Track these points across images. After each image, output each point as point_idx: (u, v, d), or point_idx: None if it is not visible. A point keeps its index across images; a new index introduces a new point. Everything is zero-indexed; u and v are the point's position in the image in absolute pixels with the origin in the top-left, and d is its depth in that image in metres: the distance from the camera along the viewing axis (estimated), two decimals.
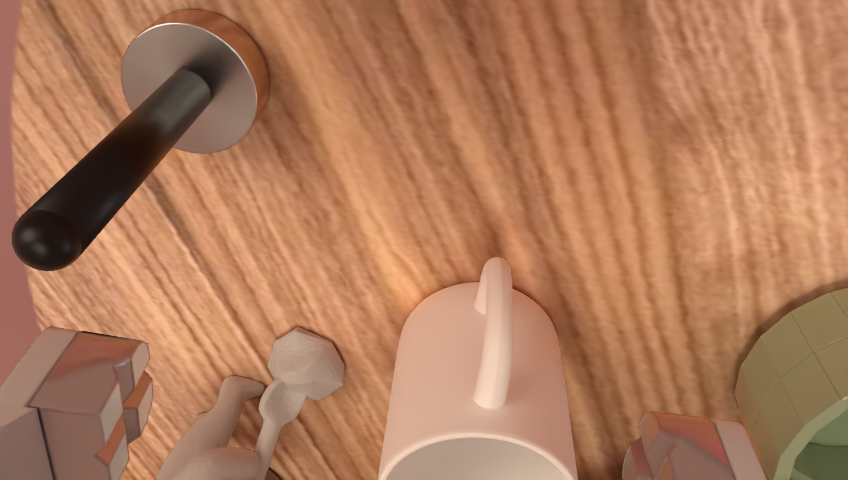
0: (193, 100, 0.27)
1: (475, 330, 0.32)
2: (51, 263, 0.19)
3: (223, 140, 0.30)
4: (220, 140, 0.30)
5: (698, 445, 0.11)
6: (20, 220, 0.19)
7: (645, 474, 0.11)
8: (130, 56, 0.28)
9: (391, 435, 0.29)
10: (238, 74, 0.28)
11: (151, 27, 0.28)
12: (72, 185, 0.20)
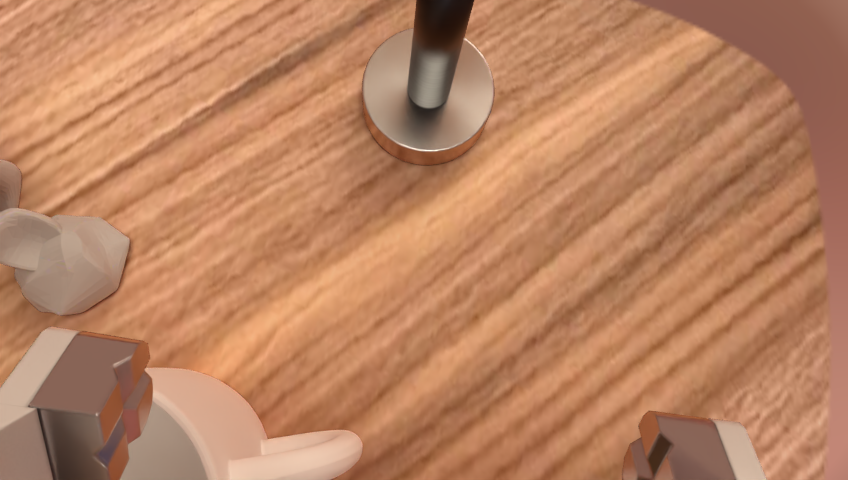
0: (445, 89, 0.28)
1: (253, 447, 0.25)
2: None
3: (387, 124, 0.30)
4: (386, 121, 0.30)
5: (698, 445, 0.11)
6: None
7: (645, 474, 0.11)
8: None
9: None
10: (461, 131, 0.30)
11: (479, 51, 0.31)
12: None
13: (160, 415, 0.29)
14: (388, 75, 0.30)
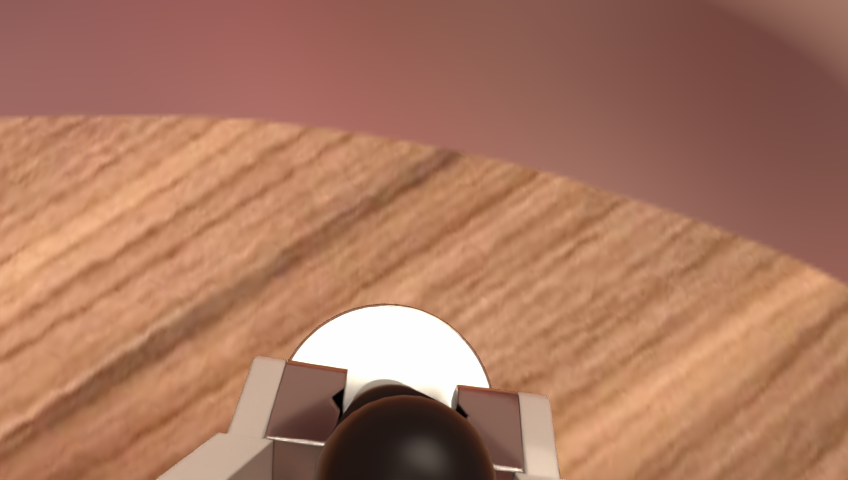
0: None
1: None
2: None
3: None
4: None
5: (493, 417, 0.11)
6: (468, 426, 0.07)
7: None
8: (416, 318, 0.18)
9: None
10: None
11: (470, 346, 0.18)
12: None
13: None
14: None
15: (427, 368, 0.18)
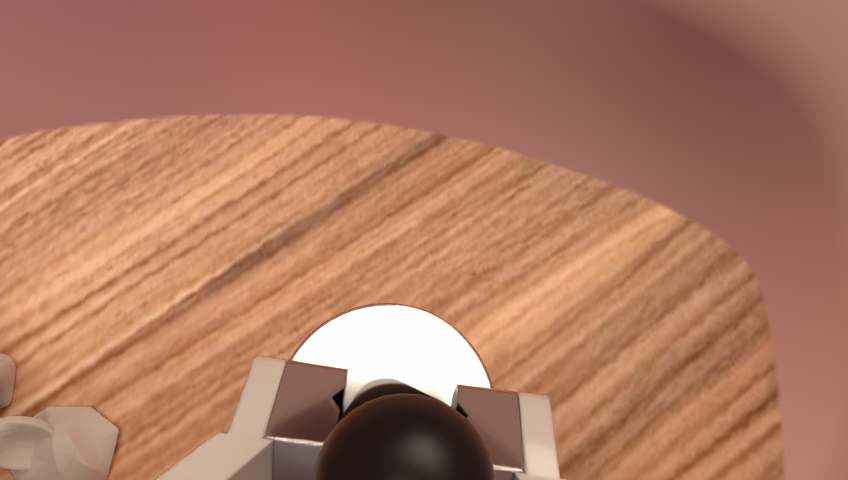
0: None
1: None
2: None
3: None
4: None
5: (493, 417, 0.11)
6: (466, 424, 0.07)
7: None
8: (417, 317, 0.18)
9: None
10: None
11: (471, 346, 0.18)
12: None
13: None
14: None
15: (428, 367, 0.18)
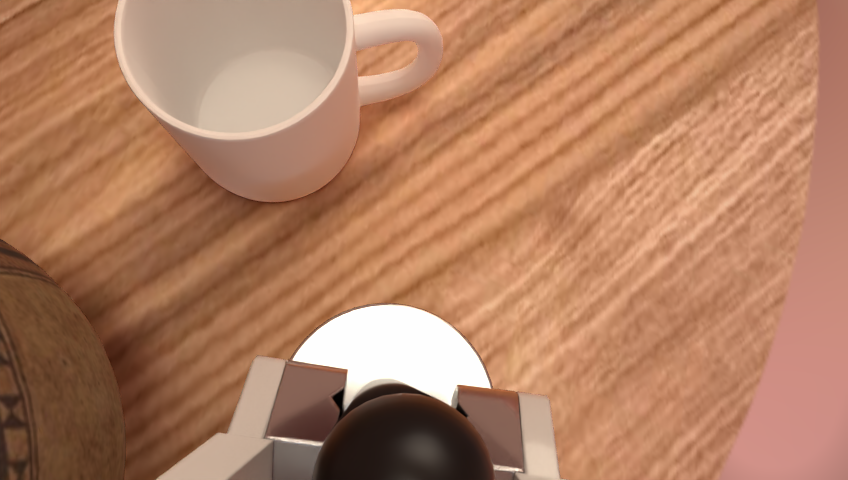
0: None
1: None
2: None
3: None
4: None
5: (493, 417, 0.11)
6: (467, 424, 0.07)
7: None
8: (417, 317, 0.18)
9: None
10: None
11: (471, 346, 0.18)
12: None
13: (266, 76, 0.35)
14: None
15: (428, 367, 0.18)
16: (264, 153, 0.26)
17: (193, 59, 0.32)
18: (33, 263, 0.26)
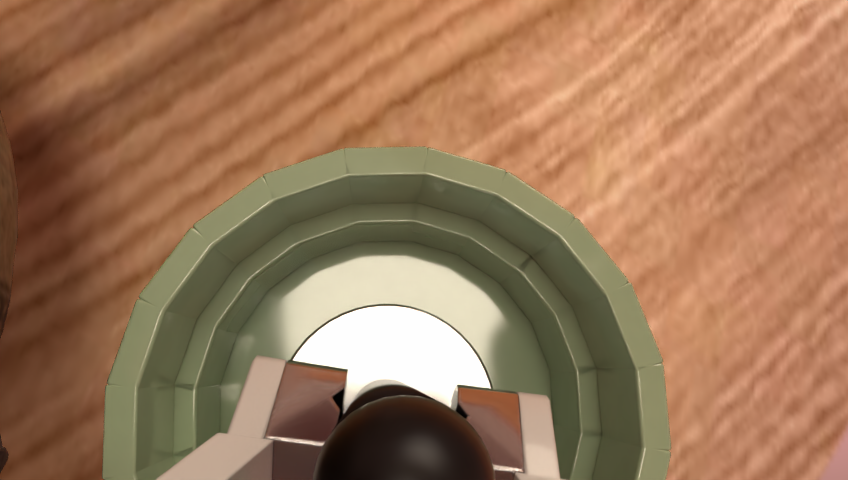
0: None
1: None
2: None
3: None
4: None
5: (493, 417, 0.11)
6: (467, 427, 0.07)
7: None
8: (417, 318, 0.18)
9: None
10: None
11: (471, 346, 0.18)
12: None
13: None
14: None
15: (428, 368, 0.18)
16: None
17: None
18: None
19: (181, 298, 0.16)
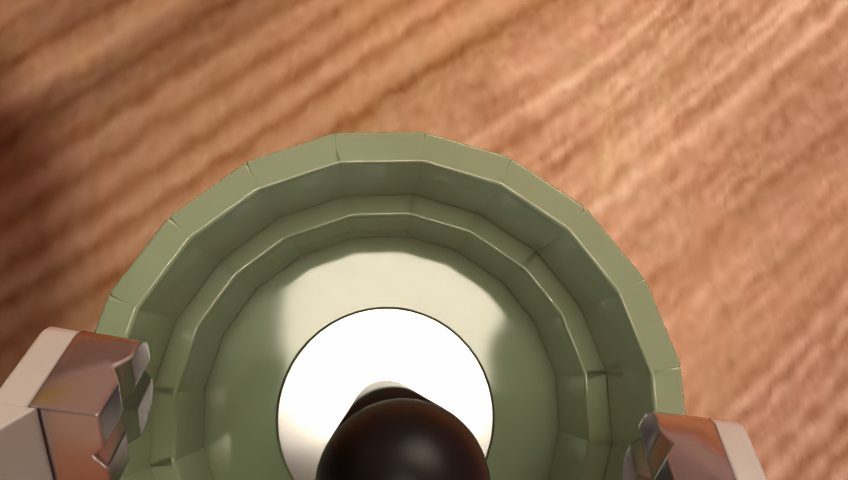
0: None
1: None
2: None
3: None
4: (314, 479, 0.18)
5: (698, 445, 0.11)
6: (463, 428, 0.07)
7: (645, 474, 0.11)
8: (417, 320, 0.19)
9: None
10: None
11: (470, 349, 0.19)
12: None
13: None
14: (318, 395, 0.18)
15: (428, 370, 0.18)
16: None
17: None
18: None
19: (157, 295, 0.15)
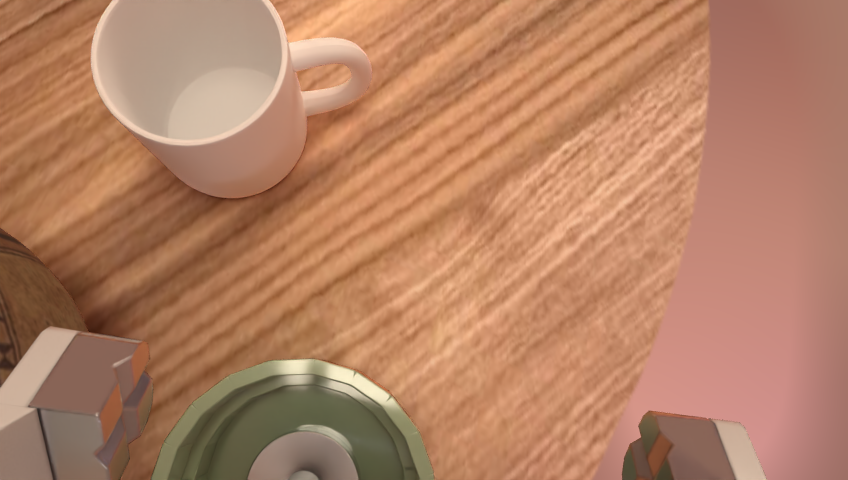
0: None
1: None
2: None
3: None
4: None
5: (698, 445, 0.11)
6: None
7: (645, 474, 0.11)
8: (320, 438, 0.35)
9: None
10: None
11: (348, 453, 0.35)
12: None
13: (227, 90, 0.41)
14: (267, 479, 0.35)
15: (325, 465, 0.35)
16: (215, 156, 0.32)
17: (162, 76, 0.38)
18: (24, 246, 0.32)
19: (185, 440, 0.32)
